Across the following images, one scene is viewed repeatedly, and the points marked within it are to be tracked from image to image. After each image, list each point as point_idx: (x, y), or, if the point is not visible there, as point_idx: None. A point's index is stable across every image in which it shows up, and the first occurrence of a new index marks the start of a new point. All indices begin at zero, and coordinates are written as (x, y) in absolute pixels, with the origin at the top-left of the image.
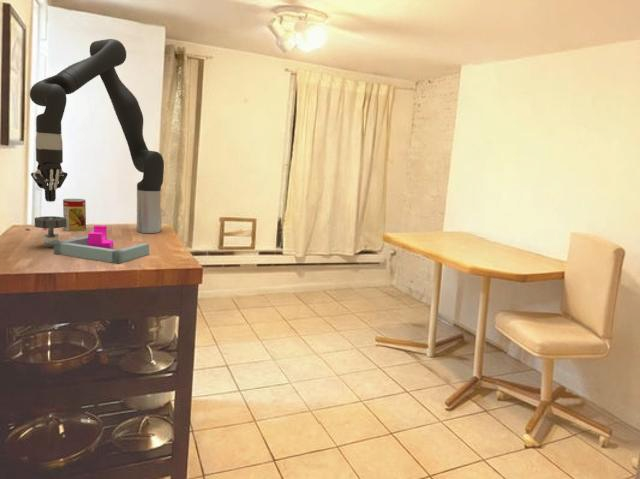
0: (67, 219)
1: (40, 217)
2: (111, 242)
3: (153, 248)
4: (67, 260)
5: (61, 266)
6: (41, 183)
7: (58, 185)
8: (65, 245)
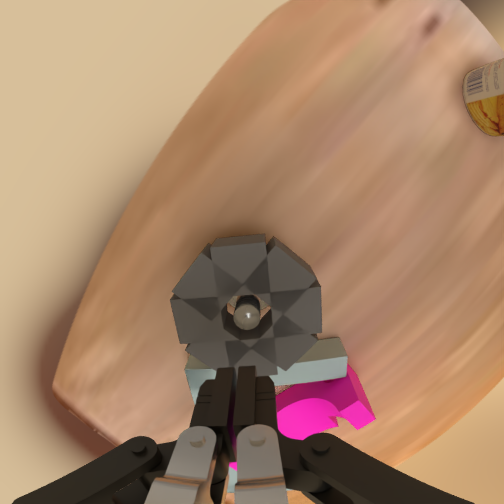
0: (489, 91)
1: (231, 261)
2: (323, 428)
3: (387, 440)
4: (171, 412)
5: (137, 427)
6: (112, 497)
7: (303, 492)
8: (194, 401)
